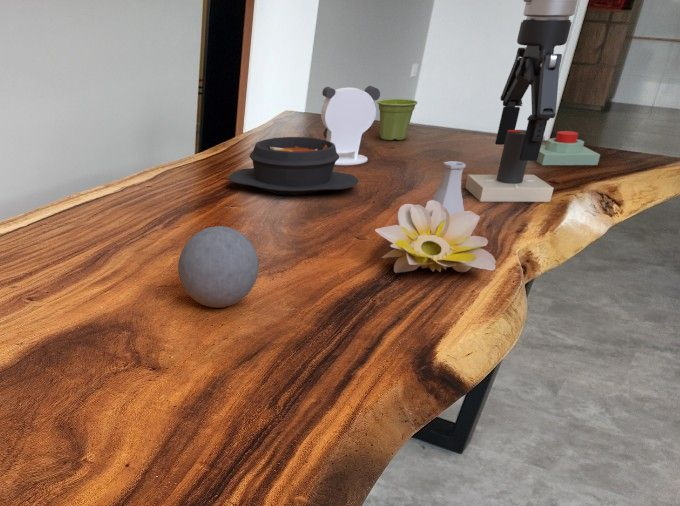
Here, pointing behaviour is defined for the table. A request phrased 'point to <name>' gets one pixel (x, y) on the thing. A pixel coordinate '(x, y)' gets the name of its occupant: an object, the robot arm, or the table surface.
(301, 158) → the casserole
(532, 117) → the robot arm
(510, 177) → the dial
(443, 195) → the flask
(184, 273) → the decorative ball
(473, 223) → the decorative flower
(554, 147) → the button housing
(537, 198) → the dial panel
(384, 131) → the plant pot
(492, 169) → the table surface
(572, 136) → the push knob
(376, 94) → the panda figurine
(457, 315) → the table surface
